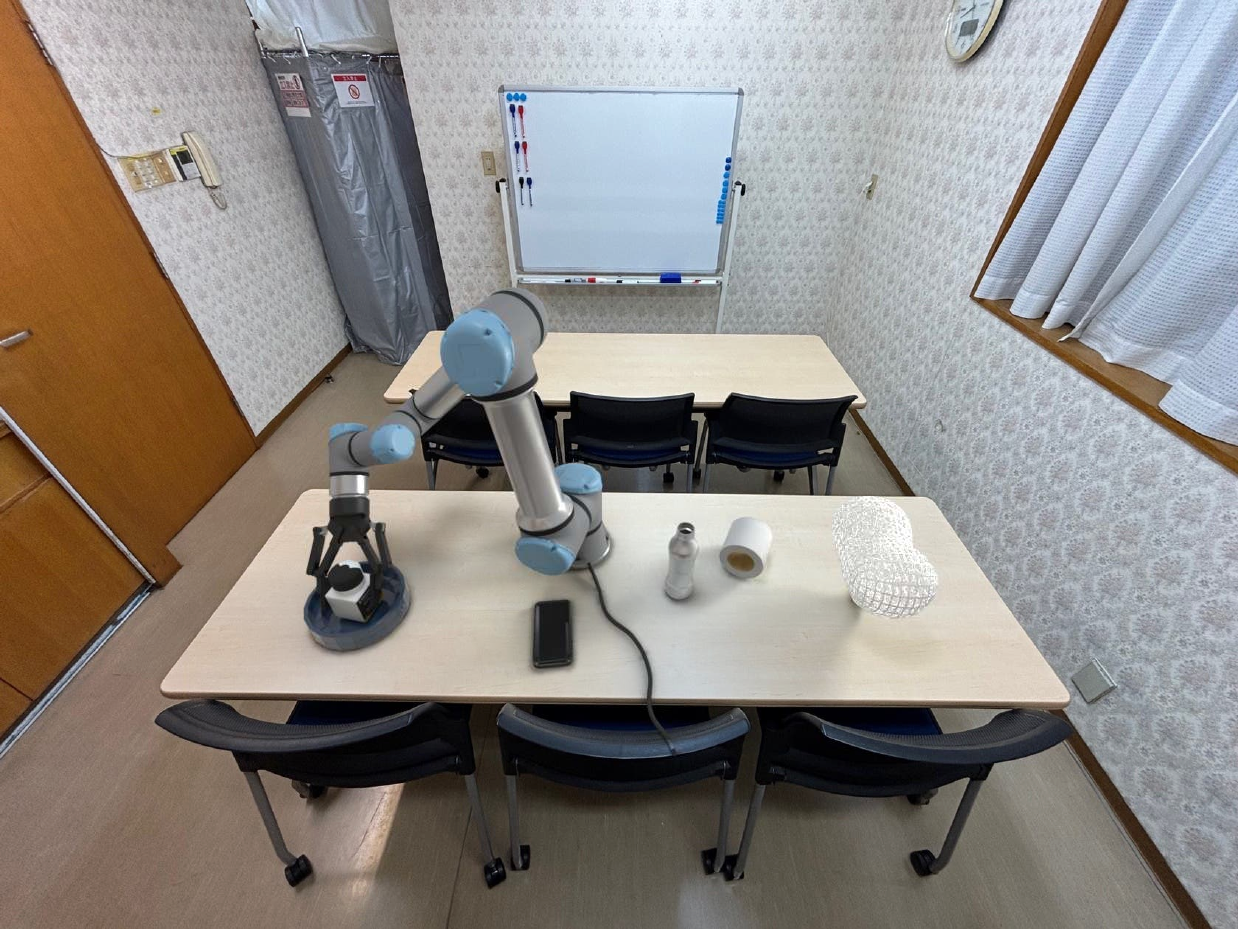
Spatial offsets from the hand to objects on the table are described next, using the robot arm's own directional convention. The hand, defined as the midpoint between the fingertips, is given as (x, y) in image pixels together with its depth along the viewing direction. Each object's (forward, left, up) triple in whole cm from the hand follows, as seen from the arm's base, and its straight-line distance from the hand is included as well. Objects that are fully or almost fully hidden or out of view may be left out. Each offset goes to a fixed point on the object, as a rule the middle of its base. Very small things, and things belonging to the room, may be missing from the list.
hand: (350, 607), depth 104 cm
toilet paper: (-46, -73, -6) cm, 87 cm away
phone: (-30, -28, -5) cm, 42 cm away
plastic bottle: (-41, -55, -6) cm, 69 cm away
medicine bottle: (+3, -2, -4) cm, 5 cm away
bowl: (+3, -2, -5) cm, 6 cm away
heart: (-71, -82, -6) cm, 109 cm away
